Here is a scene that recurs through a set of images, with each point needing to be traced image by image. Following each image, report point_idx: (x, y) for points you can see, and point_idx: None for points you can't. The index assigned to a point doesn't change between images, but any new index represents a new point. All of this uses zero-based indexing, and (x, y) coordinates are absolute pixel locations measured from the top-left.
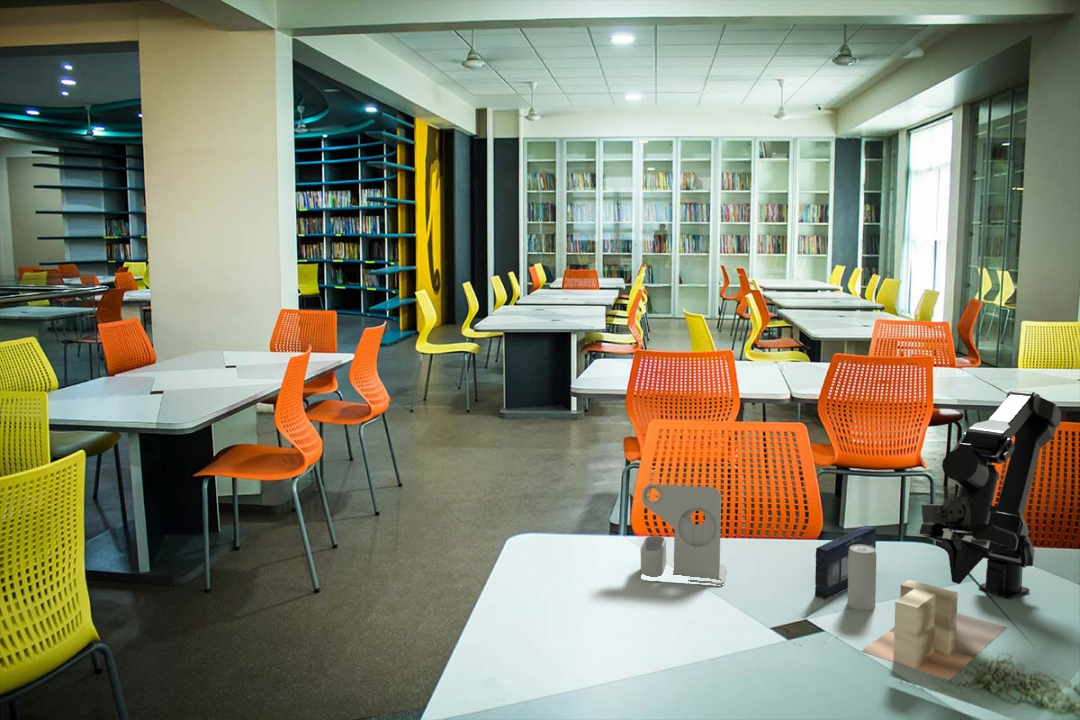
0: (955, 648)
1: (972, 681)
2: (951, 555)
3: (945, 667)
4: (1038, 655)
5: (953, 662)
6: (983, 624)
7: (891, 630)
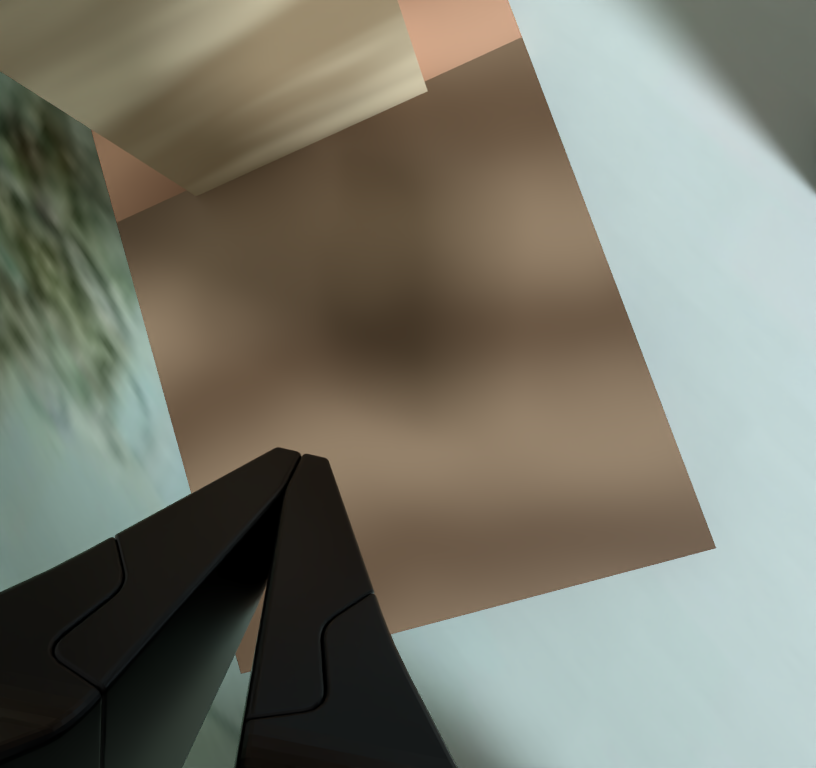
0: (188, 189)
1: (61, 116)
2: (312, 662)
3: None
4: None
5: None
6: None
7: (520, 56)
